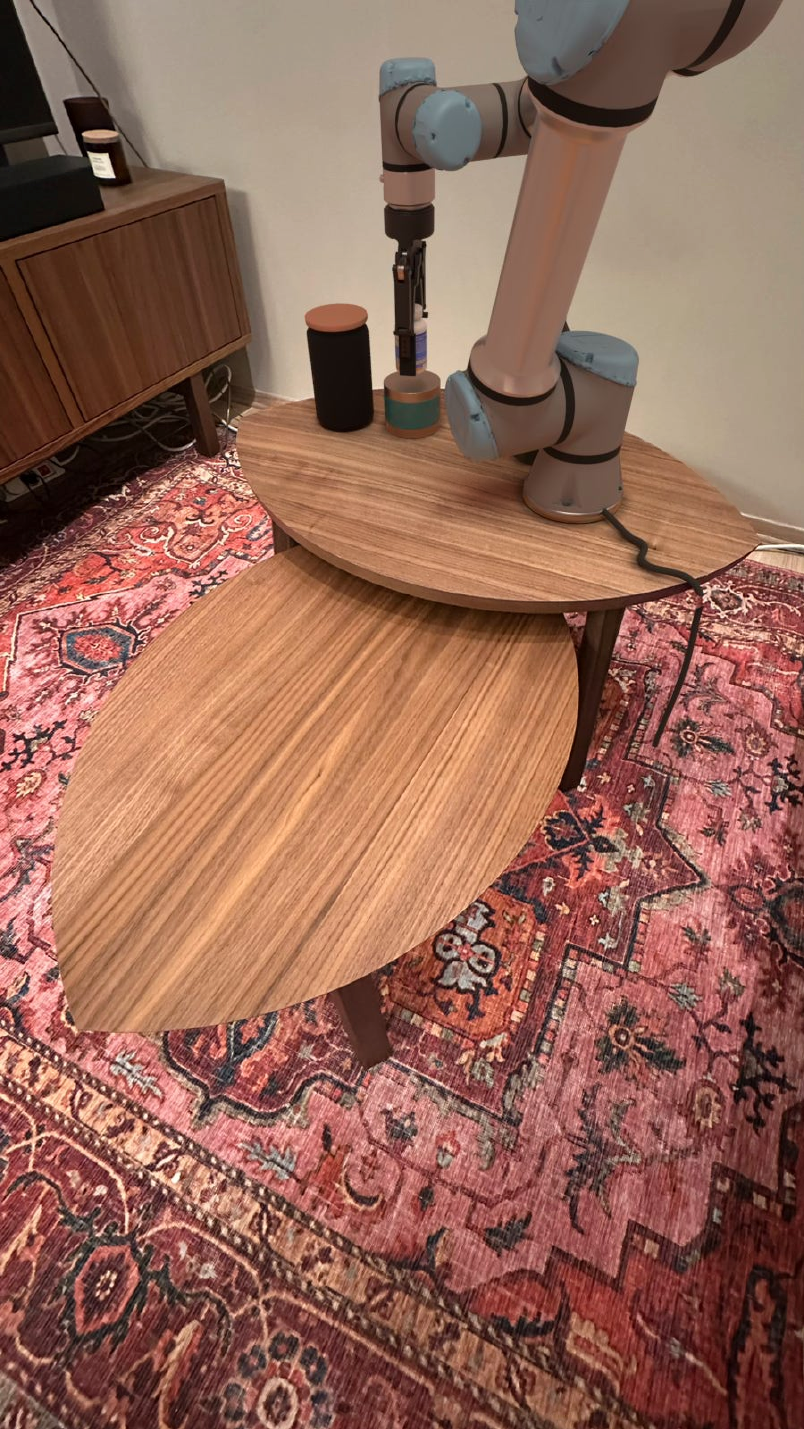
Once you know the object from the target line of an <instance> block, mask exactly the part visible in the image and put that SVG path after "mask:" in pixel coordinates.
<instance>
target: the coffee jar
mask: <svg viewBox="0 0 804 1429" xmlns="http://www.w3.org/2000/svg"><path fill="white" fill-rule="evenodd" d="M368 313H369V312H368V310H367V309H365V308H364V307H363V306H361V305H358V304H353V303H338V302H337V303H329V304H324V305H319V306H316V307H314V308H311V309H310V310H308V311H306V313H305V314H304V321H305V325H306V326H307V327H308V328H307V330H306V340H307V348H308V357H309V364H310V365H309V366H310V372H311V380H312V388H313V389H312V390H313V398H314V405H315V411H316V412H315V413H316V419H317V421H318V422H319V423H320V424H321V425H322V427H323V428H324V429H326V430H328V431H332V432H337V433H348V432H354V431H355V432H356V431H358V430H361V429H363V428H365V427H367V426H368V425H369V424H370V423H371V421H372V420H373V416H374V414H375V406H374V392H373V391H374V390H373V376H372V375H373V374H372V372H373V371H372V356H371V340H370V330H369V327H368V325H367V322H368V319H369V314H368Z"/></svg>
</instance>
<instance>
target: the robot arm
mask: <svg viewBox="0 0 804 1429" xmlns="http://www.w3.org/2000/svg"><path fill="white" fill-rule="evenodd" d="M783 2H784V0H514V8H513V9H514V10H513V12H514V14H515V15H516V16H517V22H516V24H515V26H514V29H513V30H514V32H513V33H514V39H515V40H514V42H515V47H516V52H517V56H518V60H519V63H520V65H521V66H522V68H523V70H524V72H525V73H526V75H525V76H523V77H522V78H520V79H516V80H510V81H501V82H490V83H481V84H468V85H458V86H448V87H446V86H445V87H439V86H438V82H437V75H436V66H435V62H434V60H432V59H431V58H427V57H415V56H413V57H411V56H410V57H397V58H390V59H387V60H386V59H385V61H383V63H381V66H380V67H379V79H378V80H379V81H378V82H379V84H378V90H379V91H378V95H377V96H378V98H377V99H378V103H379V118H380V120H379V121H380V142H381V161H382V162H381V163H382V166H381V167H382V174H380V175H379V178H378V180H379V182H380V183H382V184H383V187H382V188H383V201H384V202H385V203H386V205H385V206H384V207H383V220H384V221H383V222H384V234H385V236H386V237H387V238H389V239H391V240H395V241H396V242H397V251H395V253H394V264H392V266H391V271H392V278H393V299H394V300H393V305H394V306H393V307H394V310H393V311H394V326H395V331H394V330H393V331H392V335H393V336H395V335H399V369H400V376H416V333H414V314H415V303H416V304H419V305H421V306H422V317H421V319H428V318H429V311H426V309H427V283H426V282H427V277H426V276H427V273H426V272H427V267H426V266H427V265H426V264H427V262H426V259H427V248H428V247H427V246H428V244H427V241H426V239H428V238H430V237H432V236H433V235H434V233H435V228H436V227H435V224H436V223H435V221H436V220H435V218H436V217H435V212H436V211H435V210H436V208H435V205H434V204H433V203H432V202H434V200H436V171H441V172H442V171H444V172H457V171H459V170H462V169H463V168H464V167H466V166H467V165H468V164H469V163H472V162H482V161H487V160H488V161H489V160H494V159H498V158H499V159H500V158H509V157H518V156H526V160H525V165H524V169H523V173H522V177H521V182H520V186H519V190H518V195H517V199H516V204H515V208H514V213H513V216H512V217H513V218H512V222H511V226H510V229H509V230H510V231H509V235H508V239H507V244H506V248H505V253H504V256H503V260H502V261H503V262H502V265H501V269H500V274H499V278H498V279H499V280H498V283H497V289H496V292H495V298H494V302H493V306H492V310H491V314H490V318H489V324H488V326H487V327H488V328H487V331H486V334H484V335H482V336H480V337H479V339H477V340H476V341H475V342H474V343H473V345H472V346H471V350H470V353H469V358H468V362H467V366H466V368H465V369H464V370H461V369H457V370H456V371H455V372H453V373H451V374H449V375H448V377H447V378H446V381H445V385H444V406H445V412H446V418H447V421H448V426H449V430H450V432H451V435H452V437H453V440H454V443H455V444H456V447H457V448H458V450H459V451H460V453H461V454H462V455H463V456H464V457H465V458H466V459H467V460H468V461H470V462H473V463H483V462H489V461H493V462H496V461H498V460H501V459H504V458H509V457H514V455H517V454H521V453H525V452H529V451H533V450H537V449H539V451H538V454H537V456H536V458H535V461H534V463H533V465H531V467H530V468H531V469H529V471H528V472H527V474H526V476H525V479H524V481H523V488H522V498H523V501H524V503H525V504H526V506H527V507H528V508H529V509H530V510H532V511H533V512H534V513H536V514H537V515H539V516H541V517H543V518H546V519H549V520H552V521H555V522H559V523H567V524H589V523H594V522H598V521H602V520H605V519H606V520H607V521H608V522H609V523H610V524H611V525H612V526H613V527H614V528H615V529H616V530H617V531H618V532H619V533H620V534H621V536H623V538H625V539H626V540H627V541H629V542H631V543H633V544H635V545H637V546H638V547H640V550H639V553H638V555H637V562H638V564H639V565H640V566H641V567H642V568H643V569H645V570H647V571H649V572H650V573H651V572H652V573H655V574H660V575H665V576H670V577H673V578H677V579H680V580H682V581H684V582H685V583H686V584H688V585H689V586H690V587H691V588H692V590H693V591H694V594H695V595H697V596H699V597H703V596H705V593H704V590H703V588H702V585H701V584H700V582H699V581H698V580H697V579H696V578H695V577H693V576H692V575H691V574H689V573H687V572H685V571H682V570H679V569H676V568H671V567H665V566H660V565H658V564H654V563H651V562H650V561H648V560H647V559H646V556H647V554H648V551H649V546H648V543H647V542H646V541H645V540H644V539H643V538H642V537H639V536H637V535H635V534H633V533H631V531H629V530H628V529H627V528H626V527H625V526H624V525H623V524H622V522H621V521H619V520H618V518H617V517H615V515H614V514H615V513H616V512H617V511H618V510H619V508H620V507H621V504H622V500H623V496H624V482H623V474H622V464H621V455H620V453H621V449H622V444H623V441H624V436H625V431H626V426H627V421H628V417H629V412H630V409H631V406H632V402H633V401H632V400H633V397H634V392H635V388H636V386H637V383H638V381H637V377H638V369H639V364H640V356H639V352H638V351H637V349H636V348H635V347H634V346H633V345H631V344H630V343H629V342H627V341H626V340H624V339H621V338H619V337H616V336H613V335H610V334H607V333H603V332H598V331H591V330H570V331H567V332H563V333H561V332H562V329H563V326H564V323H565V320H566V321H567V319H566V317H567V318H568V314H569V311H570V308H571V305H572V302H573V299H574V296H575V293H576V290H577V287H578V284H579V281H580V278H581V275H582V272H583V269H584V267H585V263H586V260H587V257H588V255H589V251H590V248H591V245H592V241H593V239H594V236H595V233H596V230H597V228H598V225H599V222H600V219H601V216H602V212H603V209H604V208H605V207H604V206H605V203H606V200H607V198H608V194H609V191H610V188H611V185H612V182H613V181H614V180H613V179H614V176H615V173H616V171H617V167H618V165H619V161H620V159H621V156H622V152H623V149H624V146H625V143H626V140H627V138H628V135H629V134H630V133H632V132H634V131H635V130H636V129H638V128H639V127H641V126H643V125H644V124H645V123H647V122H648V121H649V120H650V119H651V117H652V115H653V113H654V110H655V108H656V105H657V101H658V99H659V97H660V96H659V95H660V93H661V91H662V89H663V85H664V82H665V80H666V79H668V78H670V77H672V76H677V77H680V78H693V77H697V76H699V75H701V74H704V73H705V72H708V71H709V70H711V69H712V68H714V67H717V66H719V65H720V64H723V63H725V62H726V61H729V60H731V59H733V58H735V57H736V56H738V55H739V54H741V53H742V52H744V51H745V50H746V49H748V48H749V47H751V45H753V43H754V42H755V41H756V40H757V39H758V38H759V37H761V35H762V34H763V33H764V32H765V30H766V29H767V27H768V26H769V25H770V23H771V22H772V21H773V19H774V18H775V16H776V14H777V12H778V11H779V9H780V7H781V5H782V4H783ZM704 607H705V606H704V605H702V606H699V607H697V608H695V610H694V614H693V617H692V622H691V626H690V630H689V637H688V642H687V646H686V650H685V655H684V658H683V661H682V665H681V667H680V671H679V674H678V678H677V680H676V683H675V685H674V688H673V691H672V693H671V696H670V698H669V700H668V703H667V705H666V708H665V710H664V713H663V715H662V717H661V720H660V722H659V724H658V727H657V729H656V732H655V736H654V737H653V741H652V743H651V746H652V748H654V749H655V748H656V749H657V748H658V747H659V744H660V741H661V738H662V736H663V733H664V731H665V728H666V727H667V724H668V721H669V719H670V717H671V715H672V712H673V710H674V707H675V705H676V702H677V700H678V698H679V696H680V693H681V691H682V688H683V686H684V683H685V681H686V678H687V675H688V671H689V668H690V666H691V662H692V658H693V655H694V650H695V646H696V644H697V643H696V642H697V638H698V633H699V629H700V628H699V627H700V622H701V619H702V615H703V612H704V609H705V608H704Z"/></svg>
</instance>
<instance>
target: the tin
mask: <svg viewBox="0 0 804 1429" xmlns="http://www.w3.org/2000/svg"><path fill="white" fill-rule="evenodd" d="M441 382H442V380H441V378H440V376H439V375H438V374H436V372H433V371H430V370H427V369H426V370H425V371H424V372H422V373H420V374H416V376H400V373H399V372H398V371H397V370H396V371H394V372H392V373H389V374H388V375H386V377H384V379H383V404H384V406H383V407H384V421H385V428H386V431H387V432H388V433H389V434H391V435H393V436H394V437H398V438H401V439H409V440H410V439H412V440H413V439H423V438H425V437H429V436H432V435H433V434H435V433H437V431H439V429H440V428H441V414H442V413H441V410H442V409H441V408H442V406H441V405H442V401H441V400H442V389H441V386H442V384H441Z"/></svg>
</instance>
